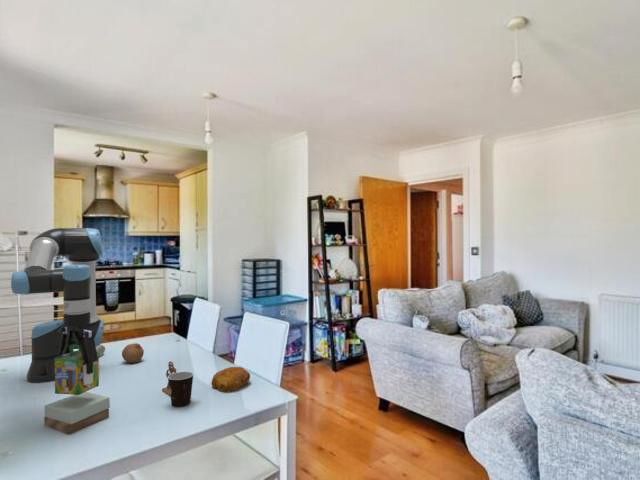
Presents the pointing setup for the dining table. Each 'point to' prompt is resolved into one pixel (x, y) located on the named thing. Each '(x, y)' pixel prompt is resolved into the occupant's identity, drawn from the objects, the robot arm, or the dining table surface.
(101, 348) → the grey rounded lump
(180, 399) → the coffee mug
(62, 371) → the chalk box
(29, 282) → the robot arm
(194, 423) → the dining table surface
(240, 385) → the potato
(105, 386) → the dining table surface
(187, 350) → the dining table surface
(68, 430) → the walnut base slab
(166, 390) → the brown scrollwork ornament
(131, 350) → the onion
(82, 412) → the grey-green top slab
